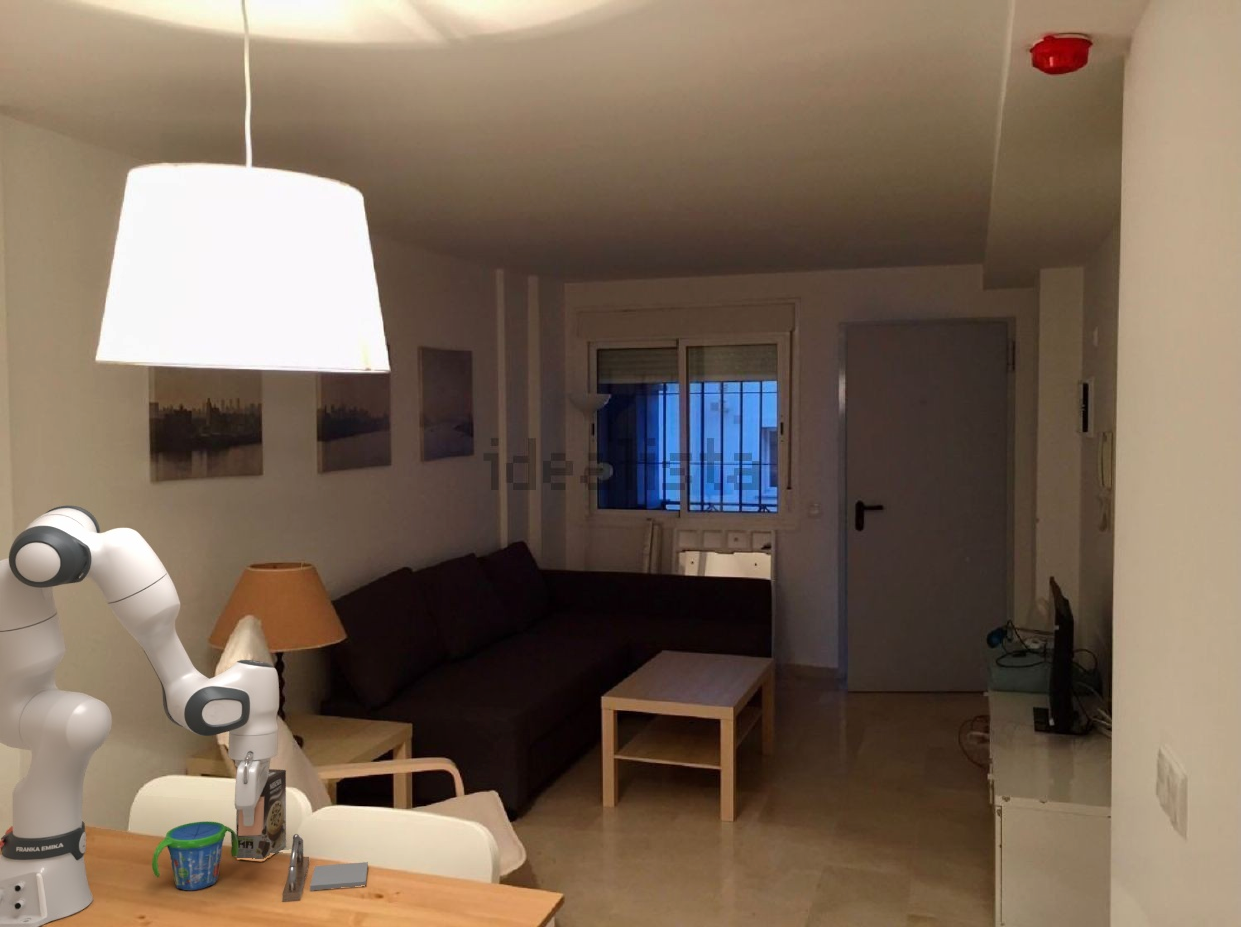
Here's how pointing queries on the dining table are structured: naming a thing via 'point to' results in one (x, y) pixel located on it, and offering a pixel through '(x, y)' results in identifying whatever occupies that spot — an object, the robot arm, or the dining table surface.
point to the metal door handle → (296, 871)
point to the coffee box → (267, 820)
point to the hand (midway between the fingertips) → (250, 820)
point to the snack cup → (195, 853)
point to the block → (258, 821)
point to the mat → (339, 876)
